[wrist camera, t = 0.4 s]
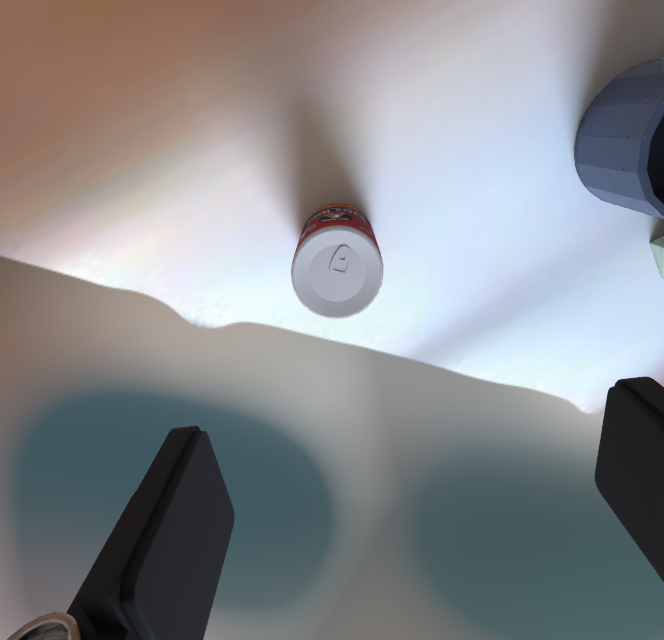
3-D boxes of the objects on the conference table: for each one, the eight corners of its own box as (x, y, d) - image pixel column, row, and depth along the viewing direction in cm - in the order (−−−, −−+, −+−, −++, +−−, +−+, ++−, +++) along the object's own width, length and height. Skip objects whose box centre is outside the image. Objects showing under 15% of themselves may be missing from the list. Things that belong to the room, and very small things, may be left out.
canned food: (374, 200, 42) (385, 225, 32) (373, 275, 45) (383, 318, 35) (298, 203, 42) (286, 228, 32) (303, 277, 46) (293, 321, 36)
